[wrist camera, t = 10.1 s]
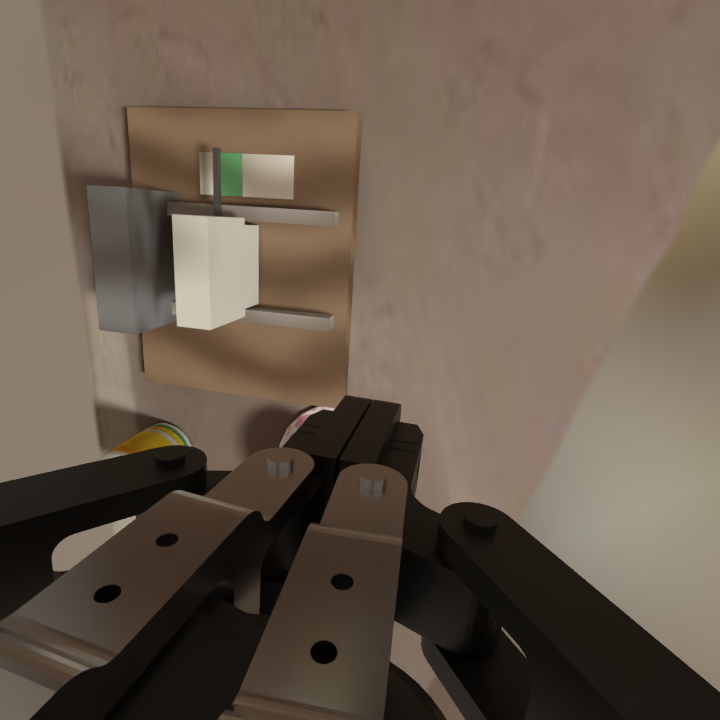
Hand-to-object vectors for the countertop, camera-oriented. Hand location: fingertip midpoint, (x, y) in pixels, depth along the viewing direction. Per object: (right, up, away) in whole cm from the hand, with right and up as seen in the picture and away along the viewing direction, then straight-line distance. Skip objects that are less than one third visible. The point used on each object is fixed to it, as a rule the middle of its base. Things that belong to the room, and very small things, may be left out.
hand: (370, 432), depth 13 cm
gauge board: (-10, +10, +26) cm, 30 cm away
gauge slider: (-10, +12, +24) cm, 29 cm away
